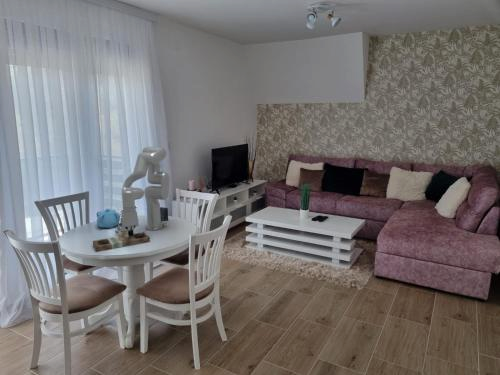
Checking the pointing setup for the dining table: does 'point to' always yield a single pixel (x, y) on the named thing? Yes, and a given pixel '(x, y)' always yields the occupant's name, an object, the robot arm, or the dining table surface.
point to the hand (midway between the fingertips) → (130, 235)
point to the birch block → (122, 235)
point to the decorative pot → (107, 218)
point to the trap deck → (120, 242)
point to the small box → (164, 214)
